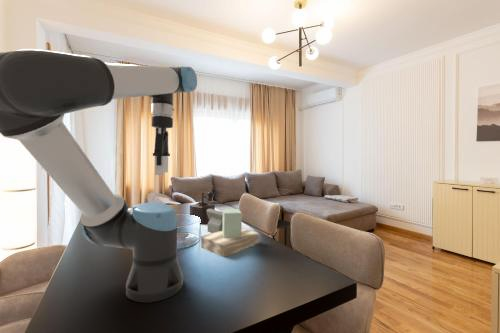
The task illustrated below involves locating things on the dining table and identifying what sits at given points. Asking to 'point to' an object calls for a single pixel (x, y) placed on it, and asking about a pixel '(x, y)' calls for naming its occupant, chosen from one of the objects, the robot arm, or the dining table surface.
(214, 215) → the digital clock
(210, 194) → the dark brown irregular piece
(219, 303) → the dining table surface
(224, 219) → the sage block
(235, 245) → the birch box
